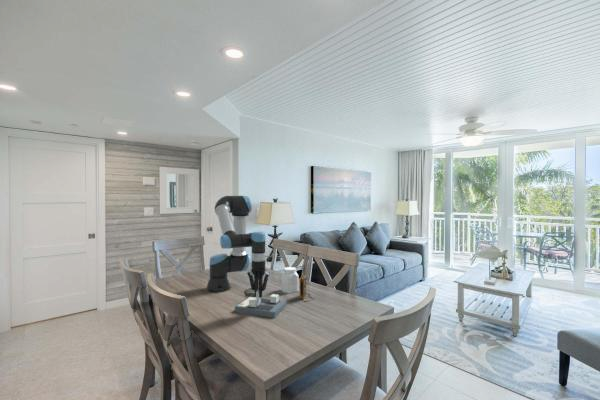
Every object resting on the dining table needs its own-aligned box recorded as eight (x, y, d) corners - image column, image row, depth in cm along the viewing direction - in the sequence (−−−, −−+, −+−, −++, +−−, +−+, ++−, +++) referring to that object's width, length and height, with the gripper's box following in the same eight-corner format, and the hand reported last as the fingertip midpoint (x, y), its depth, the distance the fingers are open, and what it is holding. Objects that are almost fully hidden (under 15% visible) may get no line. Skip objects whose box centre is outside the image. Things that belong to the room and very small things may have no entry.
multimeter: (314, 302, 167) (314, 269, 167) (298, 301, 169) (298, 268, 169) (318, 294, 181) (318, 263, 181) (303, 293, 183) (303, 263, 183)
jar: (293, 287, 196) (293, 265, 196) (300, 291, 188) (301, 268, 188) (279, 289, 190) (279, 268, 190) (286, 294, 182) (286, 271, 182)
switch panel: (235, 311, 153) (235, 305, 153) (249, 301, 169) (249, 296, 169) (274, 317, 146) (274, 311, 146) (286, 306, 161) (286, 300, 161)
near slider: (249, 306, 152) (249, 300, 152) (252, 303, 156) (252, 297, 156) (255, 307, 151) (255, 300, 151) (258, 304, 155) (258, 298, 155)
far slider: (269, 302, 158) (269, 296, 158) (272, 300, 162) (272, 294, 162) (276, 303, 157) (276, 297, 157) (278, 300, 161) (278, 294, 161)
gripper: (244, 260, 151) (244, 304, 151) (266, 262, 147) (266, 307, 147) (251, 257, 158) (251, 299, 158) (272, 259, 154) (272, 301, 154)
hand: (258, 302), depth 153 cm, fingers closed
